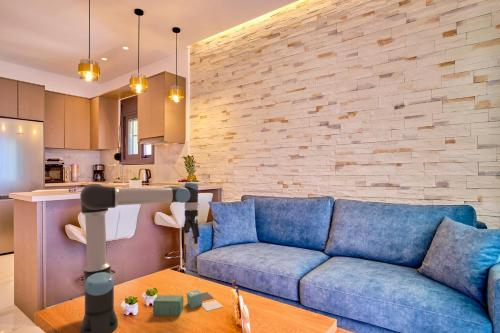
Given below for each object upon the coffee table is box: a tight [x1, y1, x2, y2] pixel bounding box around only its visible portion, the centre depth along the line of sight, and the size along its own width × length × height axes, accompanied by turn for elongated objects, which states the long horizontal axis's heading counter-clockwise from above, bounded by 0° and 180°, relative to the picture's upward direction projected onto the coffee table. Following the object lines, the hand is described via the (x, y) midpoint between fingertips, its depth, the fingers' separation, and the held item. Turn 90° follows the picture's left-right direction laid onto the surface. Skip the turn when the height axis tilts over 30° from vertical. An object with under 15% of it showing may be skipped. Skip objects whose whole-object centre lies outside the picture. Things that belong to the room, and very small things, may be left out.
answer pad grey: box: [200, 299, 224, 312], centre depth 153 cm, size 9×9×1 cm
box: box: [152, 294, 185, 317], centre depth 146 cm, size 7×14×8 cm, turn 90°
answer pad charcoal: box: [201, 291, 214, 302], centre depth 163 cm, size 9×9×1 cm
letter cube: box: [186, 288, 203, 309], centre depth 154 cm, size 6×6×6 cm
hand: (190, 246), depth 167 cm, fingers open, 13 cm apart
